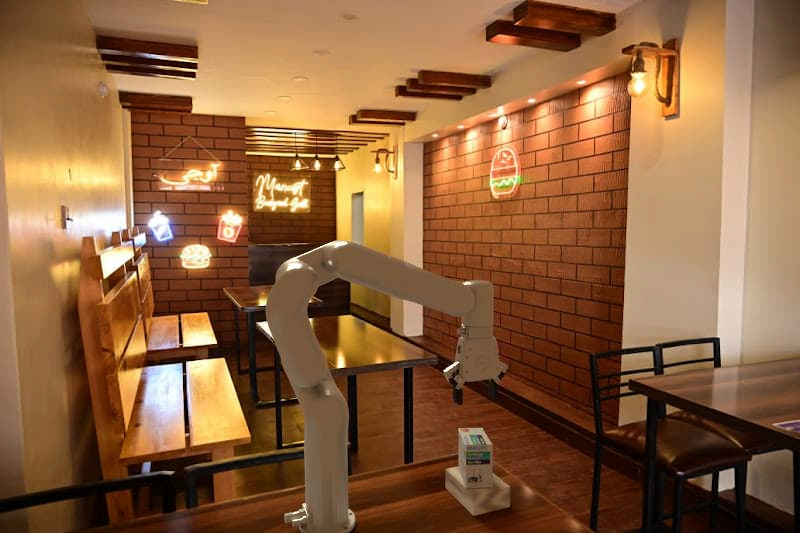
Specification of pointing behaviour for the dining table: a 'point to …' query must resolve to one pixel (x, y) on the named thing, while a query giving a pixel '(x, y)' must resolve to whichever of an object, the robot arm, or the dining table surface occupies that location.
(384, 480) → the dining table surface
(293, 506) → the dining table surface
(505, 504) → the ash block
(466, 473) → the light bulb box
